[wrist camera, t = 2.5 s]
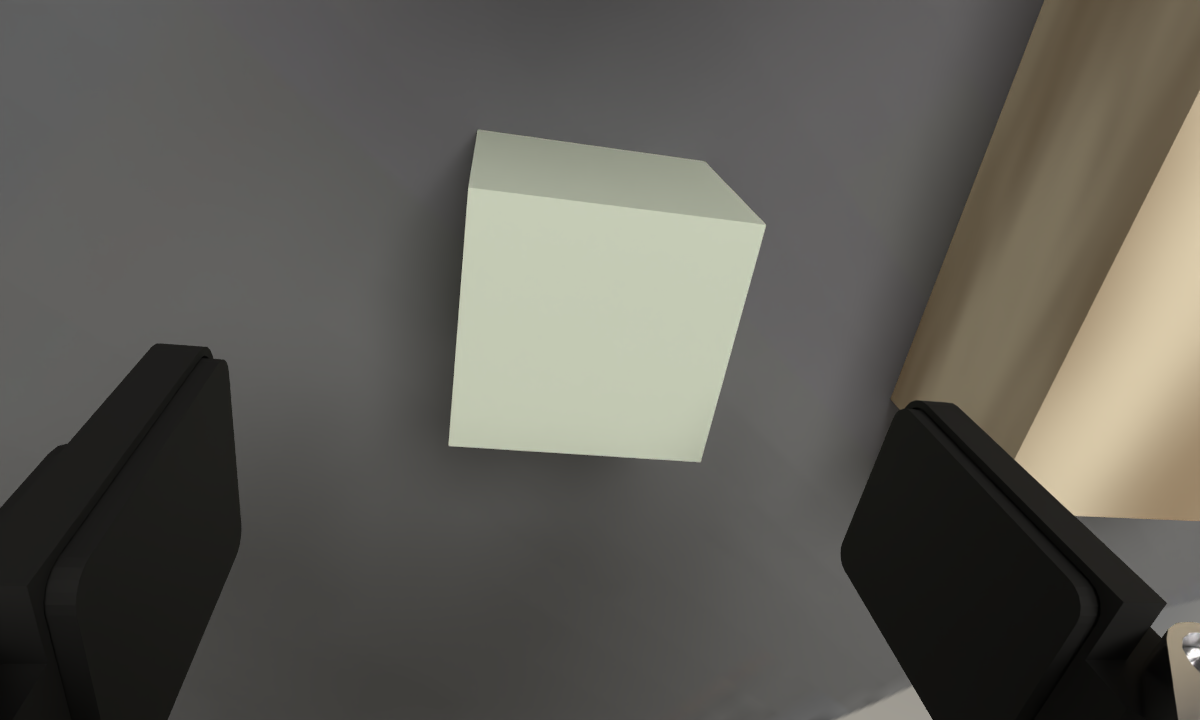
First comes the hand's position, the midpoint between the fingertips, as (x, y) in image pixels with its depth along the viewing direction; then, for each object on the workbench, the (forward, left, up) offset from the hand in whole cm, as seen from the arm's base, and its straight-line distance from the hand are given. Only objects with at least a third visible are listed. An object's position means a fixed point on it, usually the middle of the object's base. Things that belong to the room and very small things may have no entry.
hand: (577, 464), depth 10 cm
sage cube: (-1, 0, -8) cm, 8 cm away
